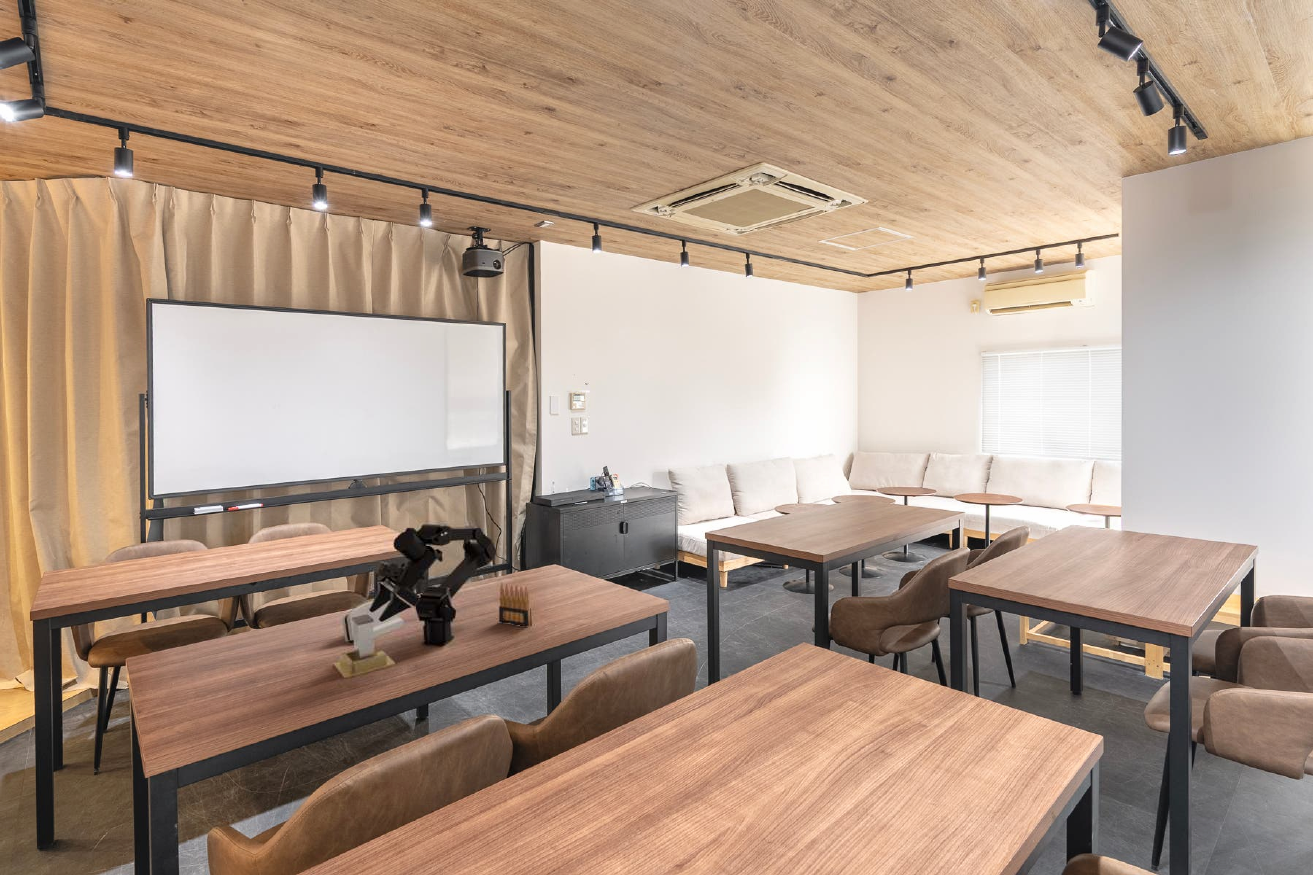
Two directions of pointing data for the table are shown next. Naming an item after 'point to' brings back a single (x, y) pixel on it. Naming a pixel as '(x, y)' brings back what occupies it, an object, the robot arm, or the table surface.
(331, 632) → the table surface
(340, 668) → the strike pocket
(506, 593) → the ammunition clip
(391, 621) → the white rounded housing
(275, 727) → the table surface
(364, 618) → the bar
